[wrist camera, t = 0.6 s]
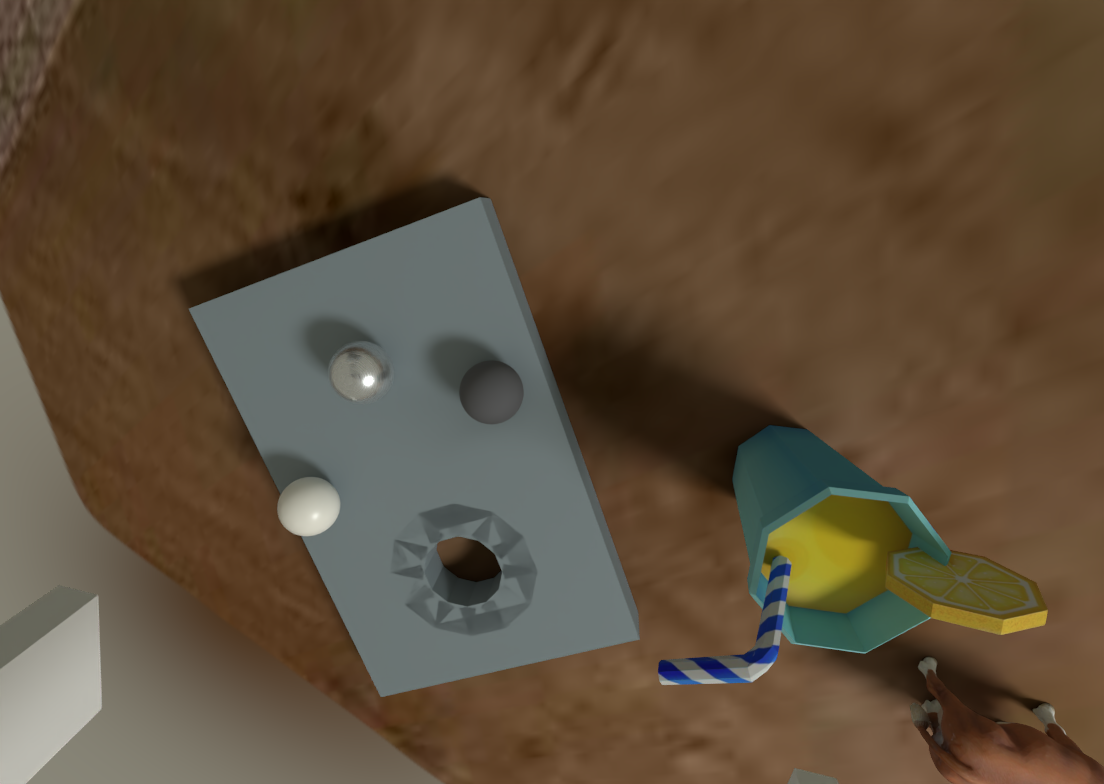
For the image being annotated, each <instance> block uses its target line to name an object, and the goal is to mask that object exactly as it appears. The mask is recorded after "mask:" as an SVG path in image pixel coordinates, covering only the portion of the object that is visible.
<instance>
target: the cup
mask: <svg viewBox="0 0 1104 784" xmlns="http://www.w3.org/2000/svg"><path fill="white" fill-rule="evenodd" d="M732 481H733V486H734V490H735V495H736V499H737V504H738V509H739V513H740V518H741V523H742V527H743V532H744V537H745V541H746V546H747V551H748V555H749V560H750V569H749V573H748V578H747V580H748V588H749V594H750V595H751V596H752V597H753V598H754V600H755V601H756V602H757V603H758V604H759V606H760V607H761V608H762V609H763V610H762V615H761V620H760V625H759V630H758V635H757V640H756V645H755V646H754V647H753V648H752V649H751V650H750V651H748V652H747V653H746V654H744V655H730V656H715V657H700V658H685V659H670V660H661V661H660V662H659V668H658V674H659V680H660V682H661V684H662V685H675V684H711V683H747V682H753V681H754V680H756V679H757V678H758V677H760V676H761V675H762V674H764V673H765V672H766V671H767V670H768V669H769V668H770V667H771V665H772V664H773V663H774V662H775V660H776V659H777V655H778V650H779V644H780V637H781V632H782V633H783V634H784V635H785V636H786V638H787V639H788V640H789V641H790V642H791V643H792V644H799V645H807V646H814V647H821V648H828V649H835V650H842V651H849V652H857V653H864V654H865V653H867V652H869V651H871V650H872V649H874V648H876V647H878V646H880V645H882V644H883V643H885V642H887V641H889V640H891V639H893V638H894V637H896V636H898V635H900V634H902V633H904V632H906V631H907V630H909V629H911V628H913V627H915V626H917V625H918V624H920V623H922V622H924V621H926V620H928V619H930V618H934V619H938V620H942V621H946V622H950V623H954V624H958V625H962V626H966V627H970V628H975V629H979V630H983V631H987V632H991V633H995V634H999V635H1003V634H1007V633H1011V632H1016V631H1020V630H1025V629H1029V628H1033V627H1038V626H1042V625H1045V622H1046V617H1047V613H1048V609H1047V607H1046V604H1045V602H1044V600H1043V597H1042V595H1041V593H1040V590H1039V588H1038V586H1037V583H1036V582H1034V581H1032V580H1030V579H1028V578H1026V577H1024V576H1022V575H1020V574H1018V573H1016V572H1014V571H1012V570H1010V569H1008V568H1006V567H1004V566H1002V565H1000V564H998V563H996V562H994V561H992V560H990V559H988V558H986V557H983V556H978V555H973V554H968V553H963V552H958V551H953V550H949V548H948V547H947V546H946V545H945V543H944V542H943V541H942V539H941V538H940V537H939V535H938V534H937V533H936V531H935V530H934V529H933V527H932V526H931V525H930V523H929V522H928V521H927V519H926V518H925V517H924V515H923V514H922V513H921V511H920V510H919V509H918V508H917V506H916V505H915V504H914V502H913V501H912V500H911V498H910V497H909V496H908V495H906V494H904V493H903V492H901V491H900V490H898V489H896V488H890V487H883V486H882V485H880V484H879V483H878V482H876V481H875V480H874V479H872V478H871V477H870V476H868V475H867V474H866V473H864V472H863V471H862V470H860V469H859V468H858V467H856V466H855V465H854V464H852V463H851V462H850V461H848V460H847V459H846V458H844V457H843V456H842V455H840V454H839V453H838V452H836V451H835V450H834V449H832V448H831V447H830V446H828V445H827V444H826V443H825V442H823V441H822V440H821V439H819V438H818V437H817V436H815V435H814V434H813V433H811V432H810V431H809V430H807V429H799V428H790V427H782V426H773V425H769V426H767V427H766V428H764V429H763V430H761V431H760V432H759V433H757V434H756V435H754V436H753V437H751V438H750V439H748V440H747V441H745V442H744V443H742V444H741V445H739V446H738V451H737V456H736V462H735V467H734V472H733V478H732Z"/></svg>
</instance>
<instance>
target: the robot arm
mask: <svg viewBox="0 0 1104 784" xmlns="http://www.w3.org/2000/svg"><path fill="white" fill-rule="evenodd" d="M98 605H99V604H98V595H97V594H92V593H88V592H84V591H80V590H76V589H72V588H68V587H64V586H60V585H59V586H57V587H56V588H54V589H53V590H51V591H50V592H48V593H47V594H45V595H44V596H43V597H41V598H40V599H38V600H37V601H35V602H34V603H32V604H31V605H29V606H28V607H27V608H25V609H24V610H22V611H21V612H19V613H18V614H16V615H15V616H13V617H12V618H11V619H9V620H8V621H6V622H5V623H3V624H2V625H1V626H0V784H26V783H27V782H28V781H29V780H30V779H31V778H32V777H33V776H34V775H35V774H36V773H37V772H38V771H39V770H40V769H41V768H42V767H43V766H44V765H45V764H46V763H47V762H48V761H49V760H50V759H51V758H52V757H53V756H54V755H55V754H56V753H57V752H58V751H59V750H60V749H61V748H62V747H63V746H64V745H65V744H66V743H67V742H68V741H69V740H70V739H71V738H72V737H73V736H74V735H75V734H76V733H78V731H80V730H81V728H83V726H85V725H86V724H87V723H88V722H89V721H90V720H91V719H92V718H93V717H94V716H95V715H96V714H97V713H98V712H99V711H100V710H101V709H102V697H101V667H100V636H99V606H98ZM788 784H839V783H838V781H837V779H836V778H832V777H828V776H824V775H820V774H816V773H812V772H808V771H804V770H800V769H796V768H794V771H793V773H792V775H791V777H790V779H789V782H788Z"/></svg>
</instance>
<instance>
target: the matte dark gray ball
mask: <svg viewBox="0 0 1104 784" xmlns="http://www.w3.org/2000/svg"><path fill="white" fill-rule="evenodd" d="M459 396H460V401H461V404H462V406H463V408H464V410H465V411H466V413H467V414H468V415H469V416H470V417H472V418H473V419H474V420H476V421H478V422H481V423H484V424H499V423H502V422H505V421H507V420H509V419H510V418H511V417H513V416H514V415H515V414H516V412H517V411H518V410H519V408H520V406H521V404H522V401H523V396H524V389H523V384H522V381H521V378H520V377H519V375H518V373H517V372H516V371H515V370H514V369H513V368H512V367H510V366H509V365H507V364H506V363H503V362H500V361H495V360H489V361H483V362H480V363H477V364H476V365H474V366H473V367H471V368H470V369H469V370H468V371H467V372H466V374H465V375H464V377H463V378H462V381H461V384H460V389H459Z"/></svg>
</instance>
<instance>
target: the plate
mask: <svg viewBox="0 0 1104 784" xmlns="http://www.w3.org/2000/svg"><path fill="white" fill-rule="evenodd" d="M189 311H190V313H191V315H192V317H193V319H194V321H195V323H196V325H197V327H198V329H199V331H200V333H201V335H202V337H203V339H204V341H205V343H206V345H207V347H208V349H209V351H210V353H211V355H212V357H213V359H214V361H215V363H216V365H217V367H218V369H219V371H220V373H221V375H222V377H223V379H224V381H225V383H226V385H227V387H228V389H229V392H230V394H231V396H232V398H233V400H234V402H235V404H236V406H237V408H238V410H239V412H240V414H241V416H242V418H243V420H244V422H245V424H246V426H247V428H248V430H249V432H250V434H251V436H252V438H253V440H254V442H255V444H256V446H257V448H258V450H259V452H260V454H261V456H262V458H263V460H264V462H265V464H266V466H267V468H268V470H269V472H270V474H271V476H272V478H273V480H274V482H275V484H276V486H277V488H278V490H279V492H280V494H282V492H283V491H284V489H285V488H286V487H287V486H288V485H289V484H291V483H292V482H294V481H295V480H298V479H300V478H304V477H318V478H321V479H324V480H326V481H328V482H329V483H330V484H332V485H333V487H334V488H335V489H336V491H337V492H338V495H339V498H340V511H339V514H338V517H337V519H336V520H335V522H334V523H333V525H332V526H331V527H329V528H328V529H327V530H326V531H324V532H322V533H320V534H317V535H314V536H301V537H302V539H303V541H304V543H305V545H306V547H307V549H308V551H309V553H310V555H311V557H312V559H313V561H314V563H315V565H316V567H317V569H318V571H319V573H320V575H321V577H322V579H323V581H324V583H325V585H326V587H327V589H328V591H329V593H330V595H331V597H332V599H333V601H334V603H335V605H336V607H337V609H338V611H339V613H340V615H341V617H342V619H343V622H344V624H345V626H346V628H347V630H348V632H349V634H350V636H351V638H352V640H353V642H354V644H355V646H356V648H357V650H358V652H359V654H360V656H361V658H362V660H363V662H364V664H365V666H366V668H367V670H368V672H369V674H370V676H371V678H372V680H373V682H374V684H375V686H376V688H377V690H378V692H379V694H380V696H381V697H383V696H388V695H392V694H396V693H401V692H405V691H410V690H414V689H419V688H423V687H428V686H432V685H437V684H441V683H446V682H450V681H455V680H459V679H464V678H468V677H473V676H477V675H482V674H486V673H491V672H495V671H500V670H504V669H509V668H513V667H518V666H522V665H527V664H531V663H536V662H540V661H545V660H549V659H554V658H558V657H563V656H567V655H572V654H576V653H581V652H585V651H589V650H594V649H598V648H603V647H607V646H612V645H616V644H621V643H625V642H630V641H634V640H639V639H640V637H639V619H638V611H637V608H636V605H635V602H634V599H633V597H632V594H631V591H630V588H629V585H628V583H627V580H626V577H625V574H624V571H623V569H622V566H621V563H620V560H619V557H618V555H617V552H616V549H615V546H614V543H613V541H612V538H611V535H610V532H609V529H608V527H607V524H606V521H605V518H604V515H603V513H602V510H601V507H600V504H599V501H598V499H597V496H596V493H595V490H594V487H593V485H592V482H591V479H590V476H589V473H588V471H587V468H586V465H585V462H584V459H583V457H582V454H581V451H580V448H579V445H578V443H577V440H576V437H575V434H574V431H573V429H572V426H571V423H570V420H569V417H568V415H567V412H566V409H565V406H564V403H563V401H562V398H561V395H560V392H559V389H558V387H557V384H556V381H555V378H554V375H553V373H552V370H551V367H550V364H549V361H548V359H547V356H546V353H545V350H544V347H543V345H542V342H541V339H540V336H539V333H538V331H537V328H536V325H535V322H534V319H533V317H532V314H531V311H530V308H529V305H528V303H527V300H526V297H525V294H524V291H523V289H522V286H521V283H520V280H519V277H518V275H517V272H516V269H515V266H514V263H513V261H512V258H511V255H510V252H509V249H508V247H507V244H506V241H505V238H504V235H503V232H502V230H501V227H500V224H499V221H498V218H497V216H496V213H495V210H494V207H493V204H492V202H491V199H489V198H482V197H479V198H477V199H474V200H472V201H469V202H466V203H464V204H461V205H458V206H456V207H453V208H451V209H448V210H445V211H443V212H440V213H438V214H435V215H432V216H430V217H427V218H424V219H422V220H419V221H417V222H414V223H411V224H409V225H406V226H404V227H401V228H398V229H396V230H393V231H391V232H388V233H385V234H383V235H380V236H377V237H375V238H372V239H370V240H367V241H364V242H362V243H359V244H357V245H354V246H351V247H349V248H346V249H344V250H341V251H338V252H336V253H333V254H330V255H328V256H325V257H323V258H320V259H317V260H315V261H312V262H310V263H307V264H304V265H302V266H299V267H297V268H294V269H291V270H289V271H286V272H283V273H281V274H278V275H276V276H273V277H270V278H268V279H265V280H263V281H260V282H257V283H255V284H252V285H249V286H247V287H244V288H242V289H239V290H236V291H234V292H231V293H229V294H226V295H223V296H221V297H218V298H216V299H213V300H210V301H208V302H205V303H202V304H200V305H197V306H195V307H192V308H189ZM354 341H367V342H371V343H374V344H376V345H378V346H380V347H381V348H382V349H384V350H385V351H386V352H387V354H388V355H389V356H390V358H391V360H392V363H393V366H394V380H393V383H392V385H391V387H390V389H389V391H388V392H387V393H386V394H385V395H384V396H383V397H382V398H380V399H379V400H377V401H375V402H372V403H368V404H355V403H351V402H348V401H346V400H344V399H342V398H341V397H340V396H339V395H337V393H336V392H335V391H334V390H333V388H332V386H331V384H330V382H329V378H328V367H329V363H330V360H331V358H332V356H333V355H334V354H335V352H336V351H337V350H338V349H339V348H341V347H342V346H344V345H346V344H348V343H351V342H354ZM489 360H495V361H500V362H503V363H506V364H507V365H509V366H510V367H512V368H513V369H514V370H515V371H516V372H517V373H518V375H519V377H520V378H521V381H522V384H523V389H524V396H523V401H522V404H521V406H520V408H519V410H518V411H517V412H516V414H515V415H514V416H513V417H511V418H510V419H509V420H507V421H505V422H502V423H499V424H484V423H481V422H478V421H476V420H474V419H473V418H472V417H470V416H469V415H468V414H467V413H466V411H465V410H464V408H463V406H462V404H461V401H460V396H459V389H460V384H461V381H462V378H463V377H464V375H465V374H466V372H467V371H468V370H469V369H470V368H471V367H473V366H474V365H476V364H477V363H480V362H483V361H489ZM457 536H459V537H464V538H468V539H473V540H477V541H480V542H481V543H482V544H483V545H484V546H486V547H487V548H488V549H489V550H491V551H492V552H493V553H494V554H495V555H496V558H497V560H498V563H499V565H500V568H501V571H500V572H499V573H498V574H497V575H496V576H495V577H494V578H491V579H487V580H483V581H479V582H474V581H470V580H465V579H461V578H458V577H456V576H455V575H454V574H453V573H451V572H450V571H449V570H448V569H446V568H445V567H444V566H443V564H442V562H441V560H440V557H439V555H438V553H437V550H436V548H437V543H438V542H439V541H442V540H446V539H450V538H453V537H457Z"/></svg>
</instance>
